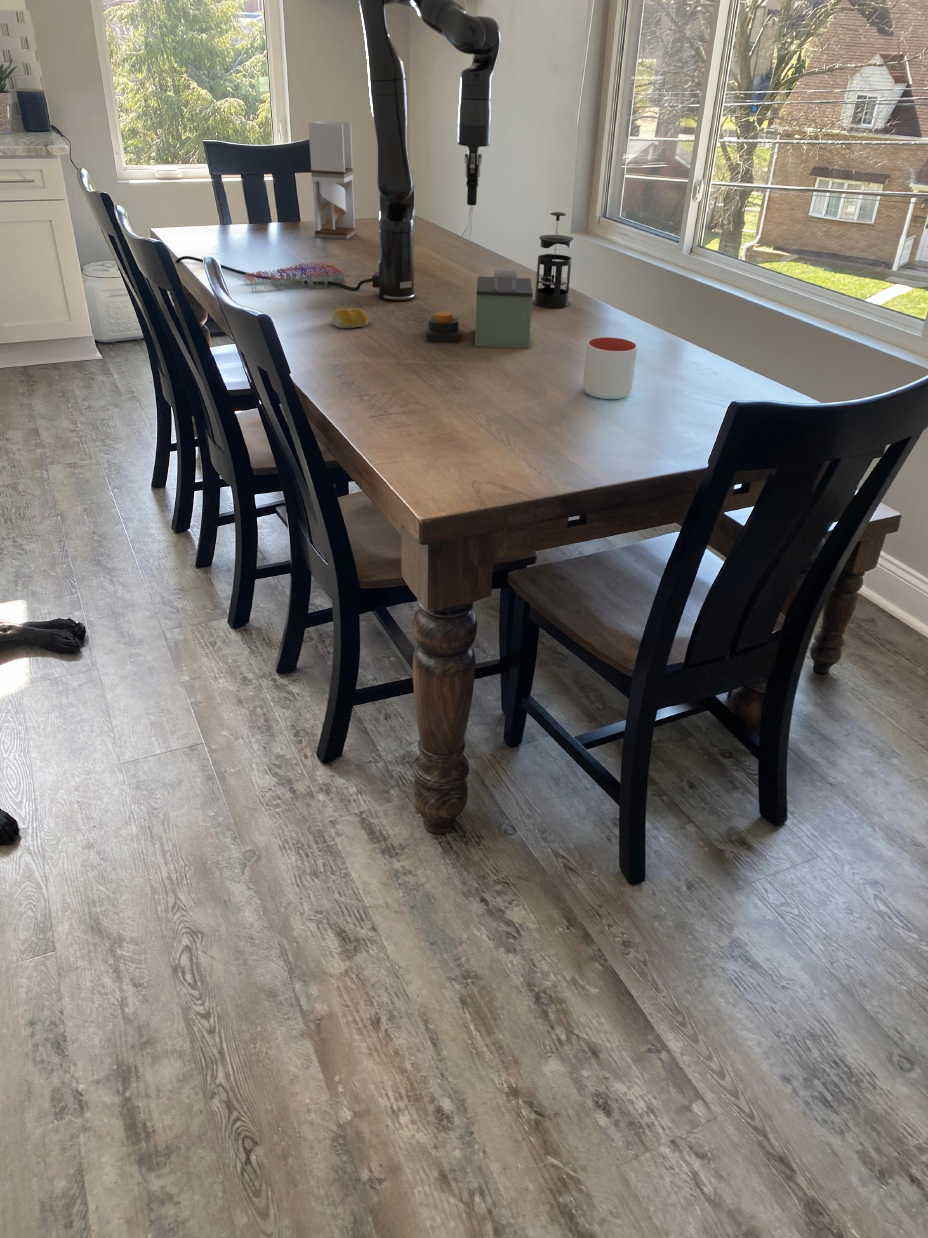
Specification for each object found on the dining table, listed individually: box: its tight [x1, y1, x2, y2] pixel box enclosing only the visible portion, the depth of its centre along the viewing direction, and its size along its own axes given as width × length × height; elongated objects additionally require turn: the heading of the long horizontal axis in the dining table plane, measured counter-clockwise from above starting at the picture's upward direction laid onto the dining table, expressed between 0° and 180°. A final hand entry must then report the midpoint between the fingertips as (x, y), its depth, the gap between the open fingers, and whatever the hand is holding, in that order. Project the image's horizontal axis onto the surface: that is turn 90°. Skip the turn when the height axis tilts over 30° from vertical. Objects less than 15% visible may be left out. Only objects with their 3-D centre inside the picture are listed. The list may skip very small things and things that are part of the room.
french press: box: [533, 211, 574, 309], centre depth 237 cm, size 12×9×23 cm
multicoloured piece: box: [243, 262, 351, 293], centre depth 251 cm, size 30×15×5 cm, turn 115°
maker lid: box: [476, 269, 534, 298], centre depth 205 cm, size 14×13×5 cm
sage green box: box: [474, 294, 533, 349], centre depth 210 cm, size 14×13×12 cm
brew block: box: [427, 315, 460, 344], centre depth 212 cm, size 10×7×4 cm
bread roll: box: [330, 307, 370, 329], centre depth 219 cm, size 8×9×4 cm
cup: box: [582, 336, 638, 400], centre depth 180 cm, size 10×10×10 cm
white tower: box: [308, 120, 356, 240], centre depth 305 cm, size 11×11×35 cm
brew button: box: [434, 311, 453, 322], centre depth 211 cm, size 4×4×2 cm
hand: (471, 204), depth 212 cm, fingers closed
